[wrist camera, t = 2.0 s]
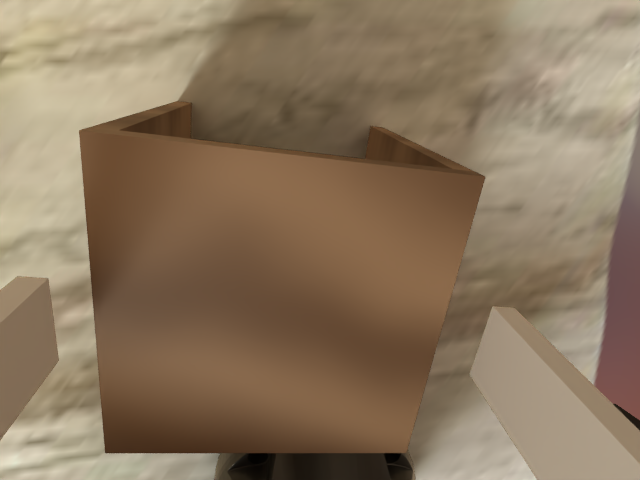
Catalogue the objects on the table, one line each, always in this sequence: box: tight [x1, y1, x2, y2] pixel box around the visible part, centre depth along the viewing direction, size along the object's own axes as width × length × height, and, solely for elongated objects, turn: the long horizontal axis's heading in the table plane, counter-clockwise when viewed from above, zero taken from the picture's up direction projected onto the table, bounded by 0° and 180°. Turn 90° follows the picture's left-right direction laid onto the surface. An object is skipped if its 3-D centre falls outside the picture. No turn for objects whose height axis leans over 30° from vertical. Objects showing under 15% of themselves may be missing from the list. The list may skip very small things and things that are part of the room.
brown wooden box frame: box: [79, 101, 485, 453], centre depth 18 cm, size 11×11×12 cm
